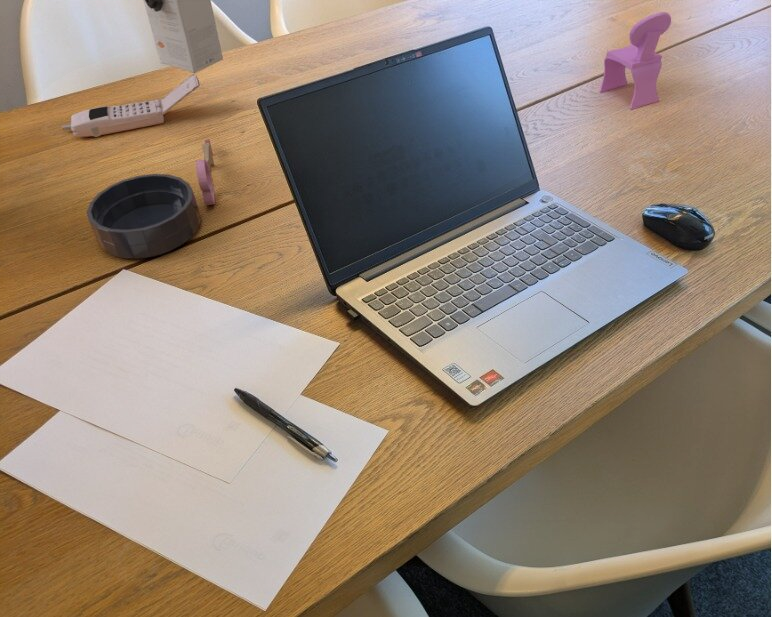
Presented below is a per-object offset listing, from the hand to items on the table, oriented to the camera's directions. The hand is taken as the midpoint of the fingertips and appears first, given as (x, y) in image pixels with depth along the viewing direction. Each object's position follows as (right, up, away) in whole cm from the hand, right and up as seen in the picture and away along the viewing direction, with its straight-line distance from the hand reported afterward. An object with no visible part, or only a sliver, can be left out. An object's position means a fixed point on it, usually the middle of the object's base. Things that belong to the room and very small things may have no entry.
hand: (182, 1), depth 97 cm
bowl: (-4, -34, -3) cm, 35 cm away
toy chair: (+73, -8, +21) cm, 77 cm away
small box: (-1, -6, +7) cm, 10 cm away
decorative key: (+2, -25, +7) cm, 26 cm away
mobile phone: (-15, -12, +22) cm, 29 cm away
